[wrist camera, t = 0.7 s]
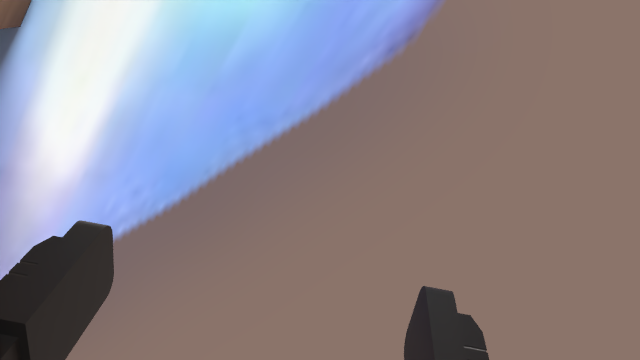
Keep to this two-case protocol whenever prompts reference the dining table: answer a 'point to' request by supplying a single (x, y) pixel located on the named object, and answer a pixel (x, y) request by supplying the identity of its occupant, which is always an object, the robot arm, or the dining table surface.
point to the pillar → (12, 12)
